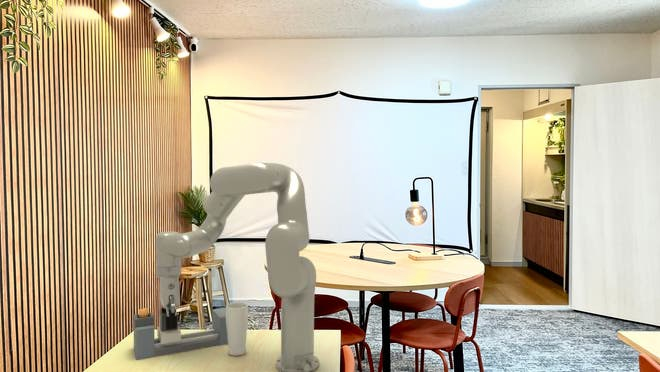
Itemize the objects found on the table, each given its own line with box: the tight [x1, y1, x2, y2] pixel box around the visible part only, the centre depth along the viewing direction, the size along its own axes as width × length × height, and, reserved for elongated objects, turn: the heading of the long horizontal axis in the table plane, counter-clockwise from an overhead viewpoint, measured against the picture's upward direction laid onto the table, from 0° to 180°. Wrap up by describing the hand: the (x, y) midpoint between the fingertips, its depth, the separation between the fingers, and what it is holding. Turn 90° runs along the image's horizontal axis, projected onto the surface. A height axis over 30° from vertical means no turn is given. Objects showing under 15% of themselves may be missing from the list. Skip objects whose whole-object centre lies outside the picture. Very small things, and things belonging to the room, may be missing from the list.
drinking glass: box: [225, 302, 249, 357], centre depth 140 cm, size 7×7×15 cm
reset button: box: [138, 307, 150, 318], centre depth 140 cm, size 3×3×3 cm
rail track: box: [133, 307, 228, 361], centre depth 146 cm, size 30×10×12 cm, turn 118°
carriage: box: [156, 312, 182, 344], centre depth 144 cm, size 6×8×8 cm
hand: (169, 323), depth 144 cm, fingers open, 9 cm apart
